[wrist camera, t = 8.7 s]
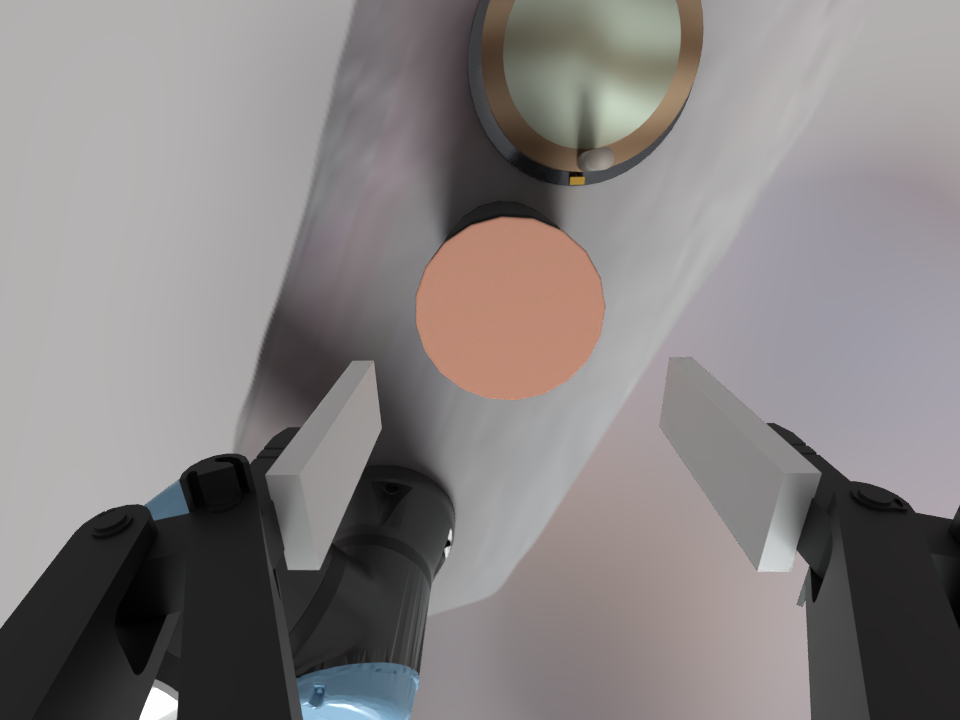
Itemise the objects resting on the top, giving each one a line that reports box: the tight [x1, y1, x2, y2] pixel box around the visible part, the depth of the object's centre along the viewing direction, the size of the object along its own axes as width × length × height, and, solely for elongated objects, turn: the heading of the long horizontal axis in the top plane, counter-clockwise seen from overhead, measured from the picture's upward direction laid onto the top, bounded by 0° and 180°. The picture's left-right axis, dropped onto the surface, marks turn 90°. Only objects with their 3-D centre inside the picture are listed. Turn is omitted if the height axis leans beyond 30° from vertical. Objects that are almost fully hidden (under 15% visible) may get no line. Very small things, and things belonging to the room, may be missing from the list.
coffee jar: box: [416, 201, 605, 400], centre depth 33 cm, size 11×11×18 cm
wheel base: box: [468, 0, 694, 186], centre depth 35 cm, size 18×18×1 cm
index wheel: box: [481, 0, 703, 172], centre depth 31 cm, size 16×16×9 cm
